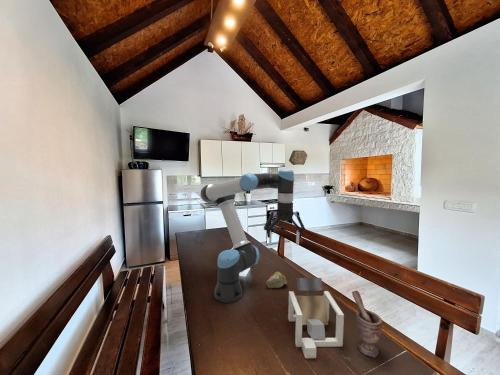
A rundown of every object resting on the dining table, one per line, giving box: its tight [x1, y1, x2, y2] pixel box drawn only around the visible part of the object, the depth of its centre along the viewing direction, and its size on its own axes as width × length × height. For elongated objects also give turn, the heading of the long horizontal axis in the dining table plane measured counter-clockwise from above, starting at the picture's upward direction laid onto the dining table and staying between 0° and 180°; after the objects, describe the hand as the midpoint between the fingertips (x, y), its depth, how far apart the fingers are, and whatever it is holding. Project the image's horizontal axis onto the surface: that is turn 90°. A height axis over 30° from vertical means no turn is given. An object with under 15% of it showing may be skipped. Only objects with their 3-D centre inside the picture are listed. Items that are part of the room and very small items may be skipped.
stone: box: [306, 319, 326, 339], centre depth 88 cm, size 5×5×7 cm
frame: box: [287, 290, 345, 348], centre depth 91 cm, size 18×16×13 cm
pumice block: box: [301, 339, 317, 359], centre depth 80 cm, size 4×4×4 cm
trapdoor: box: [295, 277, 329, 326], centre depth 94 cm, size 13×18×4 cm
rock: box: [265, 271, 288, 289], centre depth 128 cm, size 12×9×10 cm
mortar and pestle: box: [351, 290, 383, 359], centre depth 83 cm, size 12×9×20 cm
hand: (283, 244), depth 107 cm, fingers open, 13 cm apart
